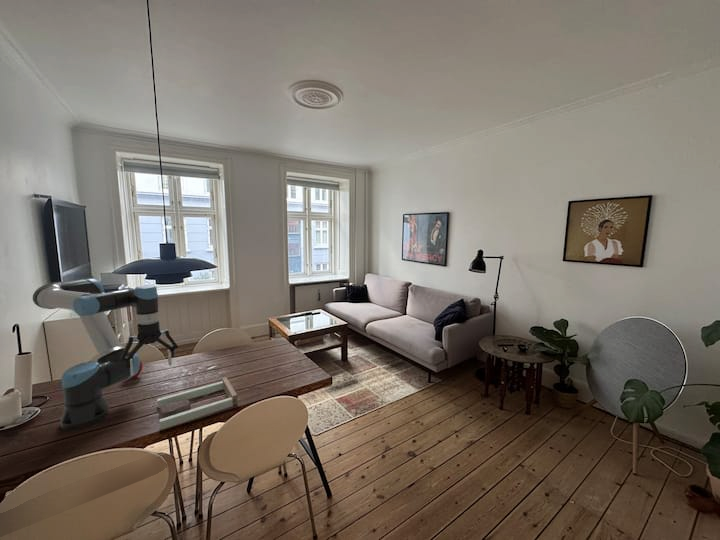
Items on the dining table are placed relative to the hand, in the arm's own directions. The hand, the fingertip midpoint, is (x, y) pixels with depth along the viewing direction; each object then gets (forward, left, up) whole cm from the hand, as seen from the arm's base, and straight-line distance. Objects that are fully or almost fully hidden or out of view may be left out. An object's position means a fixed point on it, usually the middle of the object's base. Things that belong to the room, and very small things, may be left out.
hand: (151, 369), depth 125 cm
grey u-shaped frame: (+16, -3, -21) cm, 27 cm away
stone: (+7, -4, -22) cm, 23 cm away
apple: (-8, +45, -21) cm, 50 cm away
